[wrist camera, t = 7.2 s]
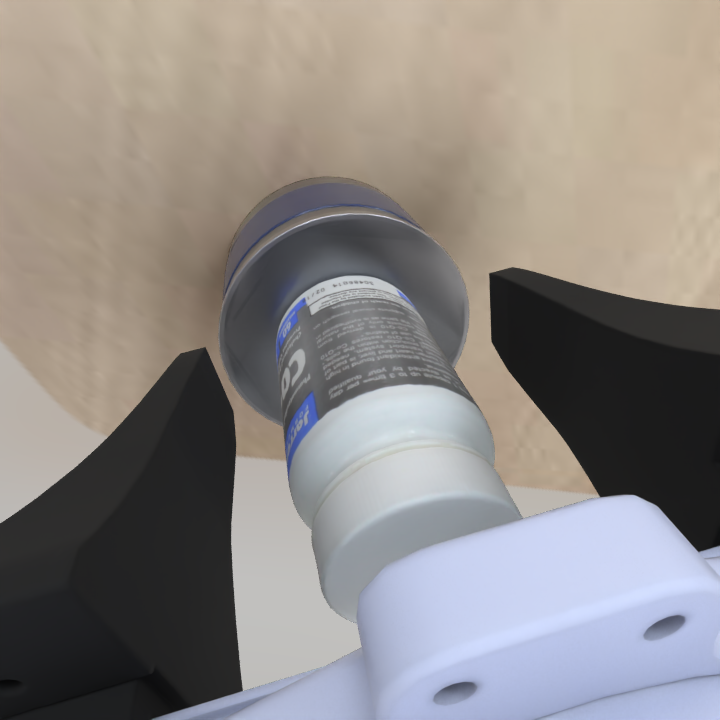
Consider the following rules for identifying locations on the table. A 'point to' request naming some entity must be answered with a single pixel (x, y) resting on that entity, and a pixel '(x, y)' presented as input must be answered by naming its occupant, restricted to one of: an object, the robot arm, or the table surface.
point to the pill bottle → (378, 435)
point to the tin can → (326, 273)
